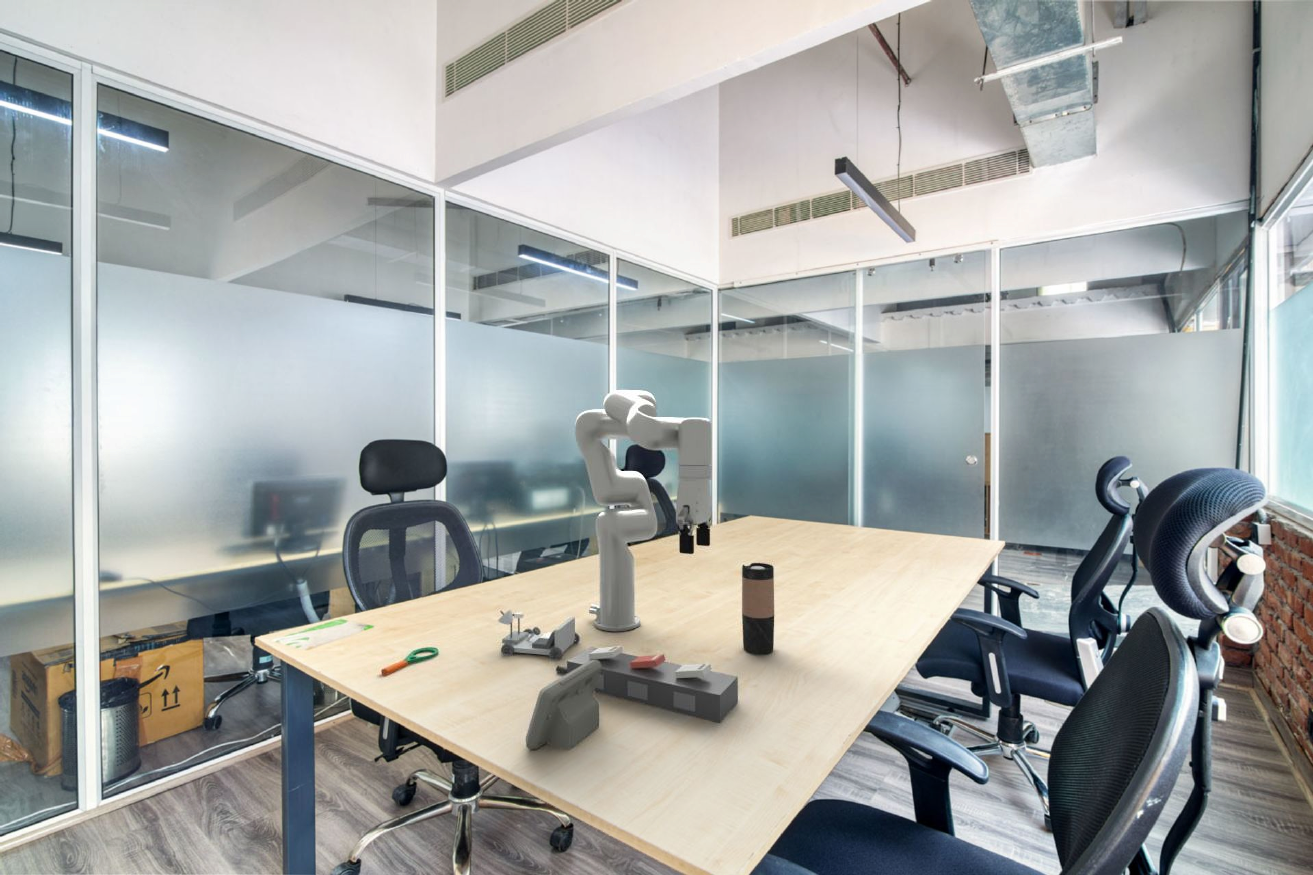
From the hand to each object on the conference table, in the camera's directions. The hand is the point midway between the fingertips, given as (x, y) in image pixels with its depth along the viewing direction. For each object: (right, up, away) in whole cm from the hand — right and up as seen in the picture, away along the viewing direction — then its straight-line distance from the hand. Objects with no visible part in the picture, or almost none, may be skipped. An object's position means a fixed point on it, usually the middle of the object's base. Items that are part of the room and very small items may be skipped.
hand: (695, 549), depth 130 cm
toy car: (-38, -27, +11) cm, 48 cm away
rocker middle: (-10, -21, -14) cm, 27 cm away
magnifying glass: (-65, -27, +3) cm, 71 cm away
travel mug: (+16, -26, +9) cm, 32 cm away
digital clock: (-25, -27, -29) cm, 46 cm away
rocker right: (-1, -21, -19) cm, 28 cm away
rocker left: (-19, -21, -9) cm, 30 cm away
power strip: (-13, -26, -13) cm, 32 cm away
